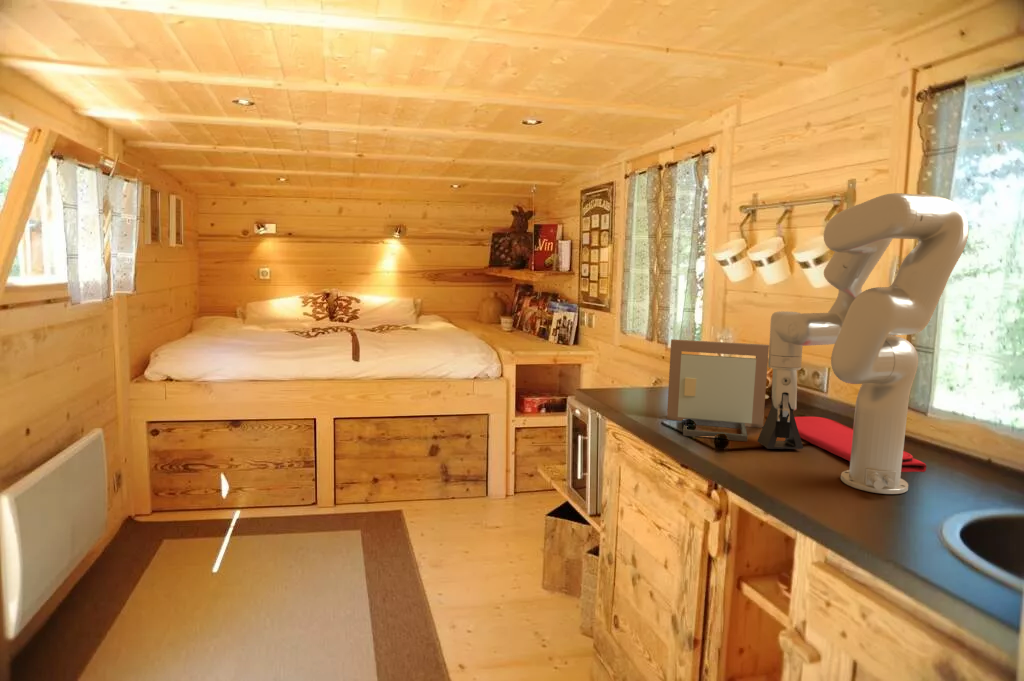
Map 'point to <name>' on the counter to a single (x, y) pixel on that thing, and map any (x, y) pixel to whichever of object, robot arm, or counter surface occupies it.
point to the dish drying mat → (841, 440)
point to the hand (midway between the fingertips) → (780, 433)
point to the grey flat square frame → (719, 424)
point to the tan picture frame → (717, 382)
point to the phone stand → (768, 433)
